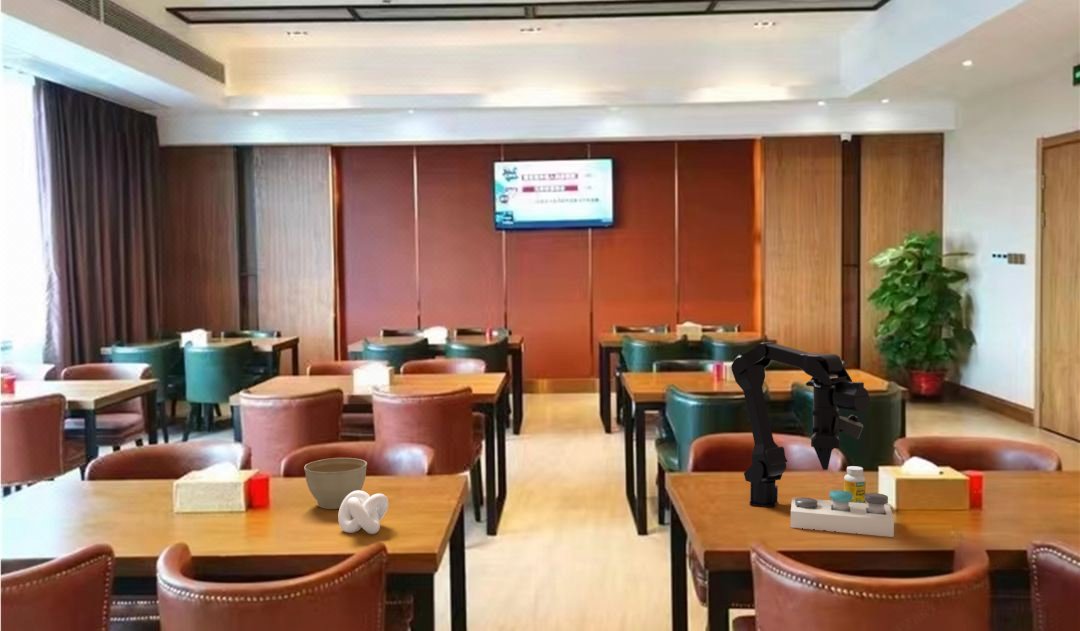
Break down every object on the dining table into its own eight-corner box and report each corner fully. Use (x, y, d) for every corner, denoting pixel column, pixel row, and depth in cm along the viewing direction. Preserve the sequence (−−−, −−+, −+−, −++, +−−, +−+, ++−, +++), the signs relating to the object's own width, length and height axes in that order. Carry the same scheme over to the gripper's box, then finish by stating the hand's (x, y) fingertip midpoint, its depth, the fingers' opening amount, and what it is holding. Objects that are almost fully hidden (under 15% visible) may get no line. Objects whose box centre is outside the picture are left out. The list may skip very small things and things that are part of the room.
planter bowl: (379, 503, 223) (379, 463, 222) (327, 518, 211) (326, 475, 210) (345, 492, 233) (344, 454, 233) (293, 505, 222) (292, 465, 221)
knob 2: (864, 517, 199) (865, 498, 199) (863, 511, 204) (864, 492, 204) (888, 519, 197) (888, 500, 197) (886, 513, 202) (887, 494, 202)
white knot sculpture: (390, 537, 196) (389, 500, 195) (337, 541, 194) (336, 503, 193) (388, 522, 207) (387, 486, 206) (338, 525, 205) (337, 490, 204)
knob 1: (794, 521, 204) (795, 502, 204) (795, 515, 209) (795, 496, 209) (817, 523, 203) (817, 504, 202) (817, 516, 207) (817, 498, 207)
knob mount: (790, 527, 201) (790, 511, 201) (791, 512, 213) (792, 497, 212) (893, 536, 194) (893, 520, 194) (889, 521, 205) (889, 505, 205)
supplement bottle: (851, 499, 224) (852, 464, 223) (869, 504, 219) (870, 468, 219) (839, 502, 221) (839, 467, 220) (856, 507, 216) (857, 471, 216)
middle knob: (829, 514, 201) (829, 495, 201) (829, 508, 206) (829, 489, 206) (852, 516, 200) (852, 497, 199) (851, 510, 205) (851, 491, 204)
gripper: (862, 414, 191) (861, 481, 192) (860, 401, 208) (859, 463, 209) (811, 412, 194) (810, 478, 195) (813, 399, 212) (813, 460, 213)
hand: (825, 469), depth 203 cm, fingers closed
